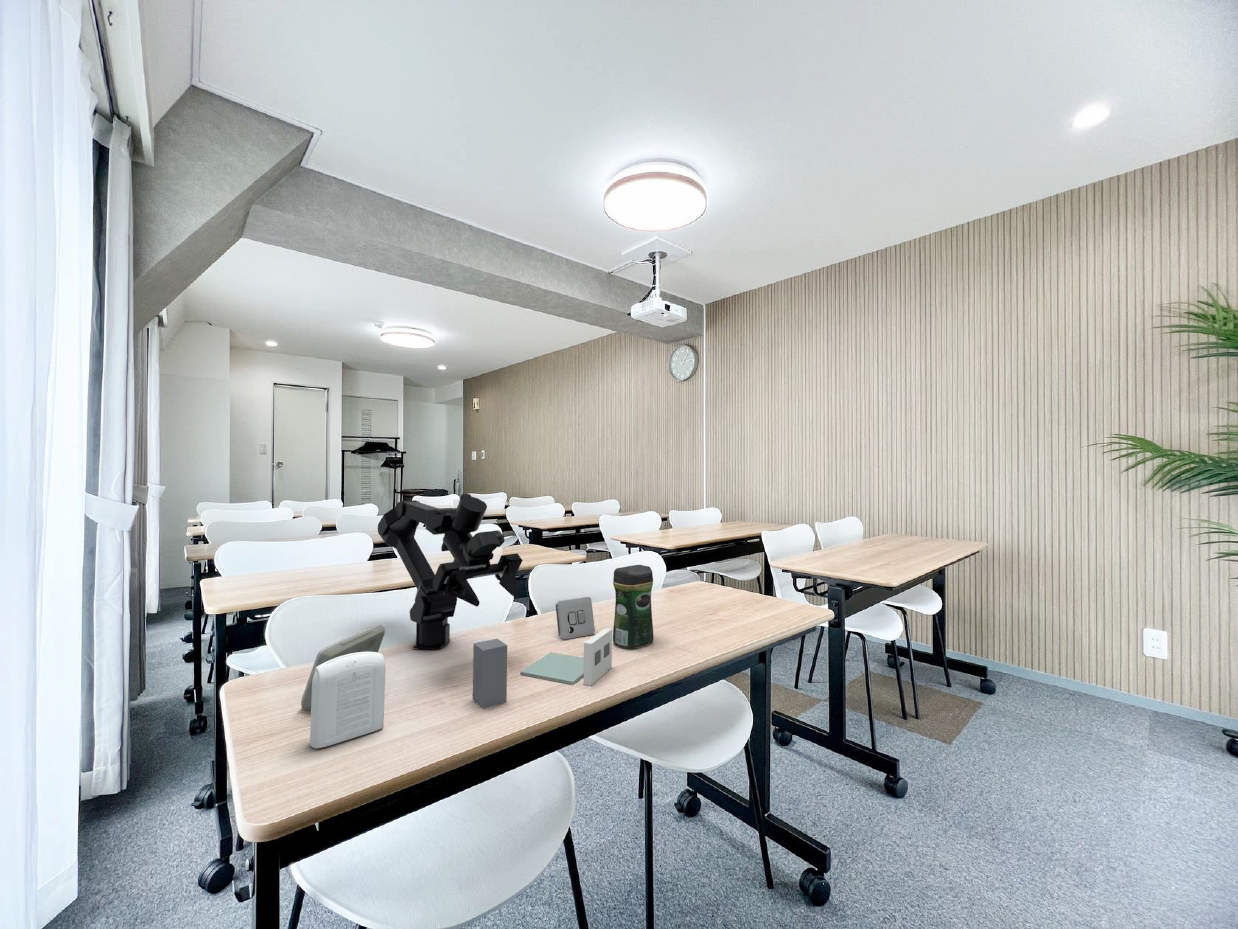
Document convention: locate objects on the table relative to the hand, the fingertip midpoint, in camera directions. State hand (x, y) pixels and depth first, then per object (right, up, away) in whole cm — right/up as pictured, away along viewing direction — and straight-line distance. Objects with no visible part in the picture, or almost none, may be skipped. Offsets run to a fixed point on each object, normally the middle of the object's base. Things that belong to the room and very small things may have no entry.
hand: (498, 600), depth 100 cm
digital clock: (-26, -15, -8) cm, 31 cm away
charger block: (+1, -15, -11) cm, 18 cm away
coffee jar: (+27, -16, +20) cm, 38 cm away
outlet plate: (+20, -15, +1) cm, 25 cm away
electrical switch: (+13, -16, +26) cm, 33 cm away
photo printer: (-18, -15, -23) cm, 32 cm away
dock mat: (+12, -15, +4) cm, 20 cm away
